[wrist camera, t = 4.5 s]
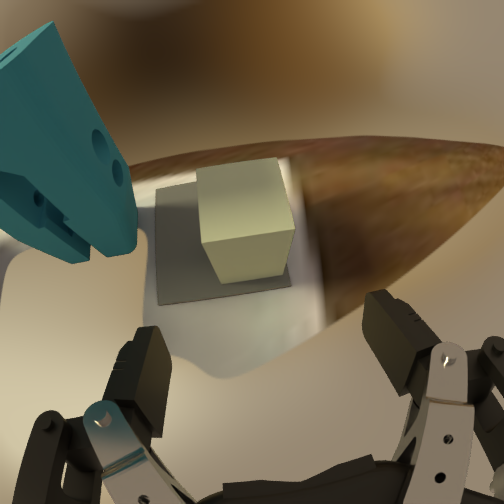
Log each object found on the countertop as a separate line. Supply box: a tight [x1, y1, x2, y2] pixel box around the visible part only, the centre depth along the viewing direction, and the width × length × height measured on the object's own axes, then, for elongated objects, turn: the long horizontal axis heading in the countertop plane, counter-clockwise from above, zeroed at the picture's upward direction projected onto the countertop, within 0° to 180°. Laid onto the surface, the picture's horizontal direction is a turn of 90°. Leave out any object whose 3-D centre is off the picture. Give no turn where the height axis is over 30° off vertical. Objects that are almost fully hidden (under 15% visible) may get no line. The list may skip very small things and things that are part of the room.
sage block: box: [196, 157, 295, 284], centre depth 19 cm, size 5×5×8 cm
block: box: [0, 21, 138, 264], centre depth 15 cm, size 12×5×20 cm, turn 99°
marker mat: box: [155, 182, 291, 305], centre depth 24 cm, size 11×12×1 cm
